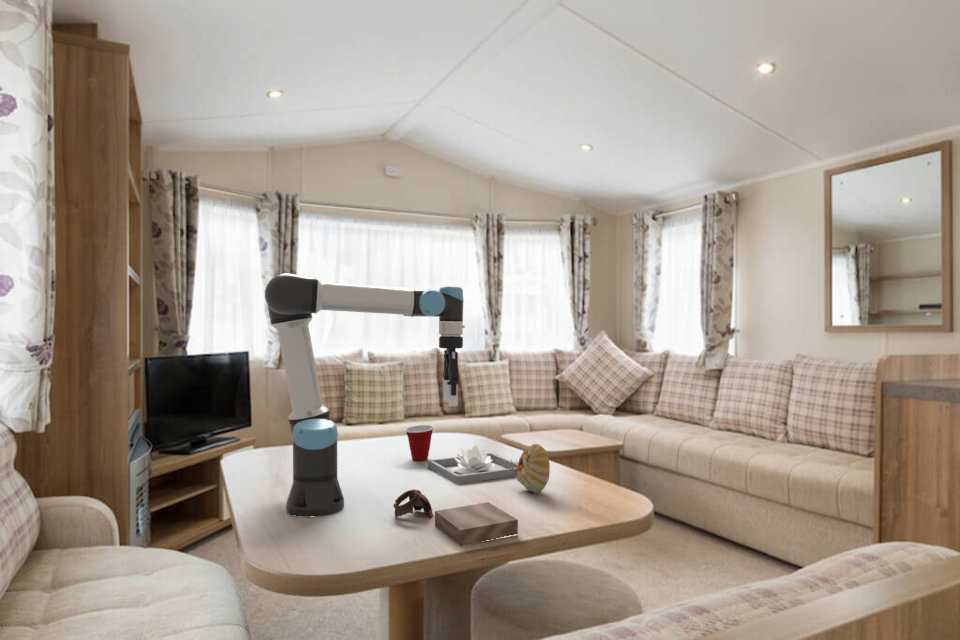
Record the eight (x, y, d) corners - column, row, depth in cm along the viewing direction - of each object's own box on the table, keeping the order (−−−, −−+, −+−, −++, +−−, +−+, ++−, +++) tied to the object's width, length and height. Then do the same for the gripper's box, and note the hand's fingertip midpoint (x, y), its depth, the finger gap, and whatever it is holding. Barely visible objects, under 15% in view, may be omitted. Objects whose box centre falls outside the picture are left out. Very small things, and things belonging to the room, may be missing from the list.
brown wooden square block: (460, 552, 133) (460, 530, 133) (434, 531, 146) (434, 510, 146) (517, 540, 140) (517, 519, 140) (488, 521, 153) (488, 502, 153)
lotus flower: (444, 474, 199) (443, 448, 199) (465, 464, 212) (465, 440, 212) (481, 479, 192) (481, 452, 192) (501, 469, 205) (501, 444, 205)
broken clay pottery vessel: (435, 524, 149) (420, 498, 148) (402, 540, 150) (387, 514, 148) (437, 500, 161) (423, 476, 159) (407, 515, 162) (392, 490, 160)
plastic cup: (400, 457, 222) (400, 426, 222) (427, 454, 227) (427, 423, 227) (410, 464, 212) (410, 430, 212) (438, 460, 217) (438, 428, 217)
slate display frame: (457, 484, 186) (457, 476, 186) (428, 467, 207) (428, 460, 207) (526, 474, 197) (526, 467, 197) (491, 459, 219) (491, 452, 219)
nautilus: (523, 480, 191) (523, 433, 191) (559, 498, 171) (558, 446, 171) (501, 482, 187) (501, 435, 187) (535, 501, 168) (535, 449, 168)
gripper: (468, 336, 174) (468, 408, 174) (457, 334, 198) (456, 397, 198) (443, 336, 172) (442, 409, 172) (435, 334, 197) (434, 398, 197)
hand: (450, 403), depth 185 cm, fingers open, 13 cm apart
